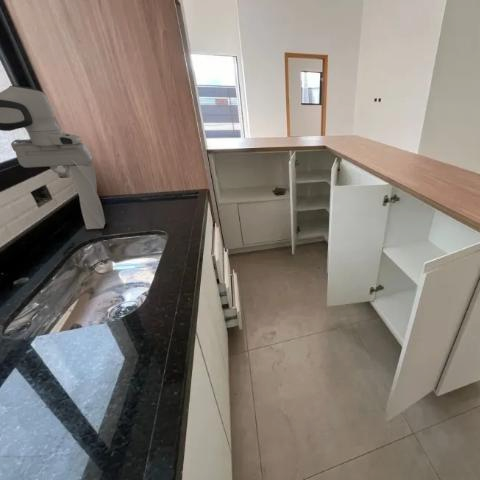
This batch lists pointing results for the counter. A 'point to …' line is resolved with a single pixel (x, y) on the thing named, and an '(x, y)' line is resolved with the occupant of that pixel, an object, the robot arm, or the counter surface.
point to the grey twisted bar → (88, 194)
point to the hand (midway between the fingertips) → (64, 177)
